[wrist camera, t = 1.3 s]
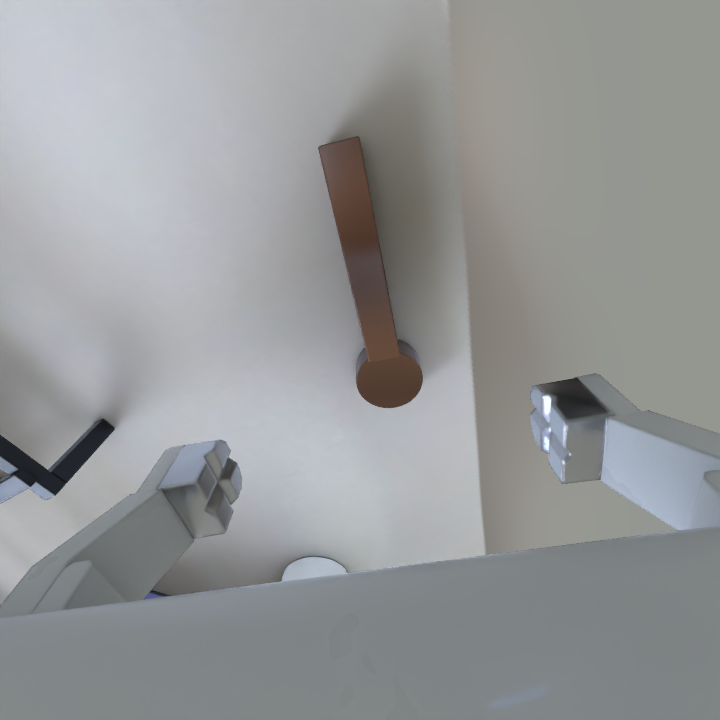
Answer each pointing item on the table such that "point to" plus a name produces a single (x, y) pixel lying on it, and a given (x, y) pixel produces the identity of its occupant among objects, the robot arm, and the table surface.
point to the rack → (37, 477)
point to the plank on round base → (368, 281)
